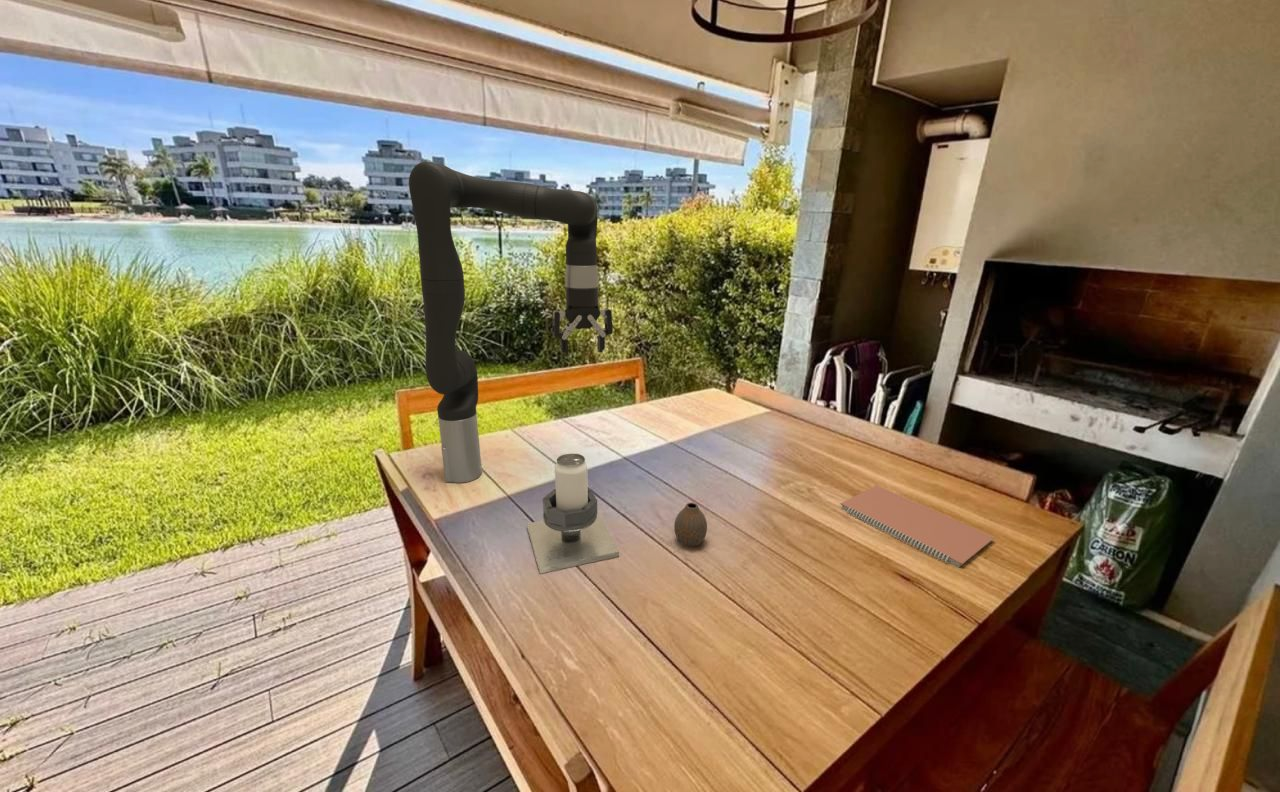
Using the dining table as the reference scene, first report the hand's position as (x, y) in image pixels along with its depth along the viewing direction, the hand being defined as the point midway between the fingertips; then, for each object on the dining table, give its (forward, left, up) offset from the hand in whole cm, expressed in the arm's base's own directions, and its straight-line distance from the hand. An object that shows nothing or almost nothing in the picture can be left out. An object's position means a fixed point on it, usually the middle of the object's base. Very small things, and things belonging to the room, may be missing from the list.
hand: (583, 352), depth 121 cm
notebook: (+65, -45, -35) cm, 86 cm away
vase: (+14, -34, -34) cm, 50 cm away
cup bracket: (-10, -26, -34) cm, 44 cm away
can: (-9, -26, -27) cm, 39 cm away
